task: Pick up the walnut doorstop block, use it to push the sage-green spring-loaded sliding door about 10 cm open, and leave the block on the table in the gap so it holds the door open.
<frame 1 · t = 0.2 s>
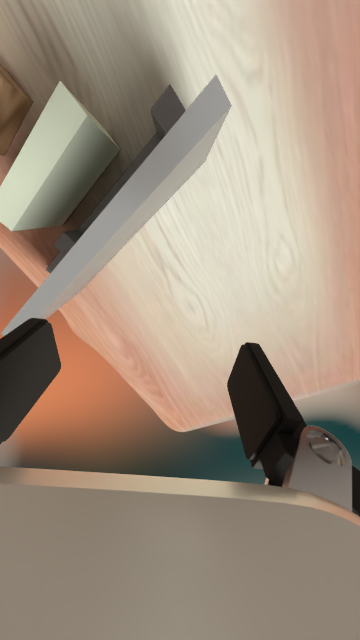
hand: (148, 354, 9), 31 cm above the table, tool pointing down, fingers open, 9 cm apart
door: (60, 174, 25), point 6 cm above the table, slide at 0.0 cm
walnut block: (4, 115, 27), on the table
grey upright panel: (101, 204, 32), on the table
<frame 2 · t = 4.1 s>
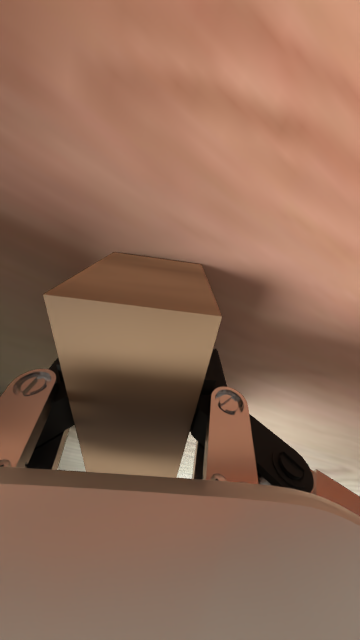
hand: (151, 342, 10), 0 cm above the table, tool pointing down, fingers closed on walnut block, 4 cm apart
walnut block: (152, 338, 11), on the table, touching gripper
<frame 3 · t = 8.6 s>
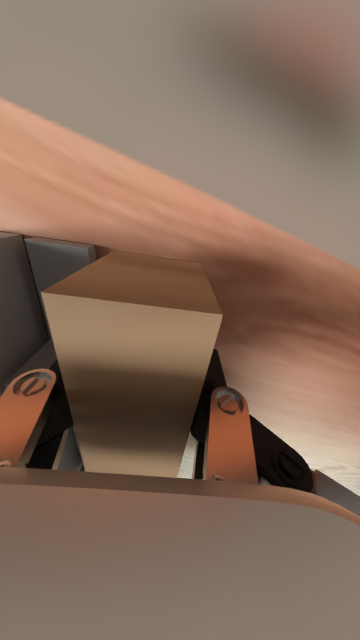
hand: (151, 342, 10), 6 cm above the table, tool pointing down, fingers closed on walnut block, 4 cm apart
walnut block: (152, 337, 11), point 5 cm above the table, touching gripper
grey upright panel: (107, 399, 22), on the table
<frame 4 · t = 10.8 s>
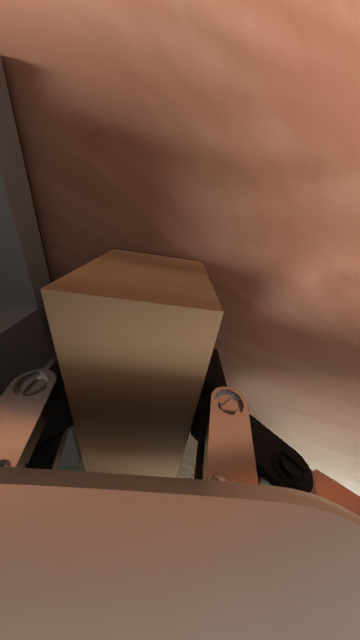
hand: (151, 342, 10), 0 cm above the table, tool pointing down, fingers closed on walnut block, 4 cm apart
door: (112, 558, 11), point 6 cm above the table, slide at 5.2 cm
walnut block: (152, 336, 11), on the table, touching gripper
grey upright panel: (78, 408, 14), on the table
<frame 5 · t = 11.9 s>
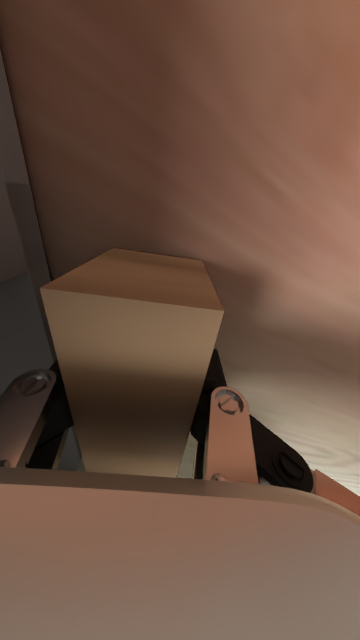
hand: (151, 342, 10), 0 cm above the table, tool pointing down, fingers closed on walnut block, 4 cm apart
door: (112, 557, 12), point 6 cm above the table, slide at 9.9 cm, touching walnut block
walnut block: (152, 335, 11), on the table, touching door, gripper
grey upright panel: (68, 361, 12), on the table
when the fingers open (0 cm above the table, at t = 13.1 s): walnut block stays where it is, on the table.
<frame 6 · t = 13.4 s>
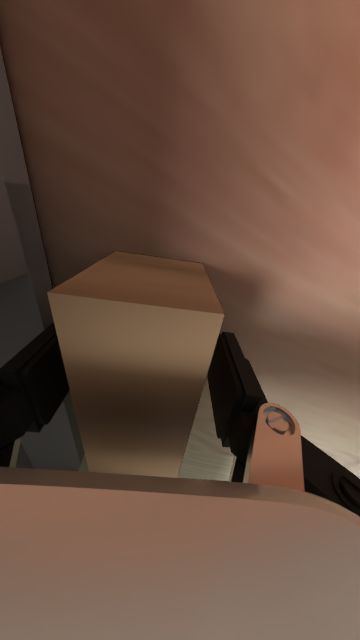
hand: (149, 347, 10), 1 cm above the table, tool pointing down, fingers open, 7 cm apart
door: (112, 561, 11), point 6 cm above the table, slide at 10.0 cm
walnut block: (153, 337, 11), on the table
grey upright panel: (68, 362, 12), on the table
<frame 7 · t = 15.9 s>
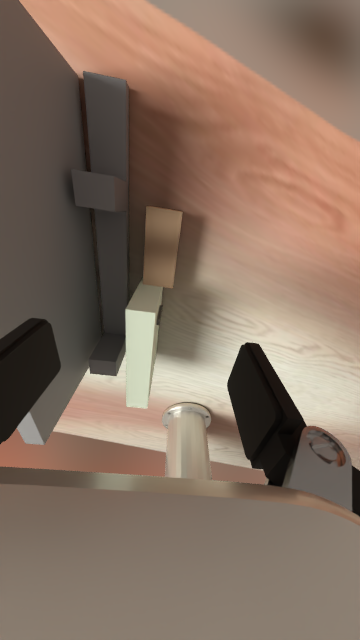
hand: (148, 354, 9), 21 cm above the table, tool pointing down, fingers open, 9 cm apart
door: (147, 339, 28), point 6 cm above the table, slide at 10.0 cm, touching walnut block
walnut block: (164, 244, 27), on the table, touching door
grey upright panel: (128, 257, 28), on the table
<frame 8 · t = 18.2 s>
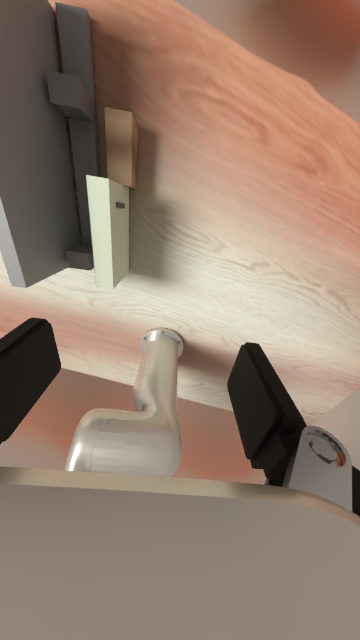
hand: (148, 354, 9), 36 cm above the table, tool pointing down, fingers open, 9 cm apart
door: (114, 235, 34), point 6 cm above the table, slide at 10.0 cm, touching walnut block
walnut block: (126, 157, 34), on the table, touching door
grey upright panel: (99, 170, 34), on the table
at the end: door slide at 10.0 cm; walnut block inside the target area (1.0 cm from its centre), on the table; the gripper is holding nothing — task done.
